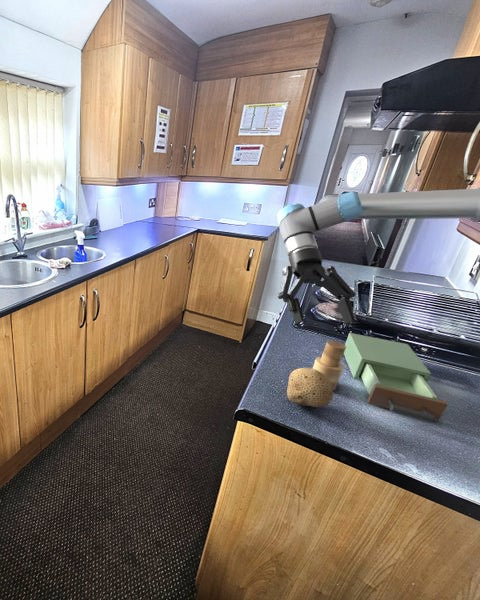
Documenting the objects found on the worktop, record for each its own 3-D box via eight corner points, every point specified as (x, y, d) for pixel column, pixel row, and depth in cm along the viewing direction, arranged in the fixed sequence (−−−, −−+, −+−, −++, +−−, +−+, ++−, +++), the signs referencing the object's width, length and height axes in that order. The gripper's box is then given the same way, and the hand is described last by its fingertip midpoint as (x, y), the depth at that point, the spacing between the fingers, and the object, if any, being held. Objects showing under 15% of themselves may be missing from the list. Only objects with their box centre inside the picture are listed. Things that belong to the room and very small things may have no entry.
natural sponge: (330, 405, 79) (343, 372, 75) (320, 424, 74) (334, 389, 70) (288, 388, 85) (298, 356, 81) (277, 404, 80) (287, 371, 76)
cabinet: (419, 395, 84) (431, 373, 81) (353, 379, 90) (361, 358, 87) (398, 363, 98) (407, 344, 95) (342, 351, 104) (349, 332, 101)
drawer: (446, 434, 70) (457, 416, 68) (372, 414, 76) (380, 397, 74) (413, 384, 87) (421, 369, 85) (354, 370, 92) (360, 356, 90)
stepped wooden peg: (333, 382, 88) (348, 342, 84) (337, 395, 84) (353, 353, 79) (307, 376, 91) (320, 336, 86) (309, 387, 86) (323, 346, 81)
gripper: (335, 260, 98) (359, 327, 90) (254, 259, 98) (270, 326, 89) (355, 246, 91) (383, 317, 83) (268, 246, 91) (287, 317, 83)
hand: (325, 322), depth 86 cm, fingers open, 13 cm apart
